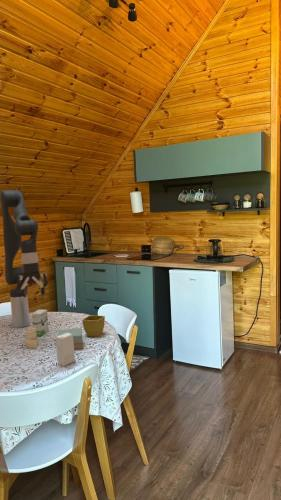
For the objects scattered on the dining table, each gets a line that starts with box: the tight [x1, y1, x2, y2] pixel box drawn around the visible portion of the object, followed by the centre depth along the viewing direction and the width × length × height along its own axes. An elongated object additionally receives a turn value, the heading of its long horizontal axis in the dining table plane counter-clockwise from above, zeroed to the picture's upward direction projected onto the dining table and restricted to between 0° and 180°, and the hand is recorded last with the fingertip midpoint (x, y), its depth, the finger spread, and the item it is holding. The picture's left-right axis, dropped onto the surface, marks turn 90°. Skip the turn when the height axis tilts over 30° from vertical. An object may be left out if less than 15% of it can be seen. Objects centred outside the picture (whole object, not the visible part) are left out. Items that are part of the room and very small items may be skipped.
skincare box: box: [55, 333, 76, 367], centre depth 158 cm, size 6×4×12 cm
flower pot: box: [81, 314, 106, 338], centre depth 191 cm, size 9×9×9 cm
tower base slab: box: [74, 343, 84, 351], centre depth 177 cm, size 11×11×4 cm
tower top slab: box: [57, 327, 84, 344], centre depth 177 cm, size 11×11×4 cm
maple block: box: [24, 327, 39, 349], centre depth 180 cm, size 5×5×8 cm
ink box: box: [31, 309, 50, 337], centre depth 198 cm, size 9×5×12 cm, turn 168°
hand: (33, 296), depth 180 cm, fingers open, 8 cm apart
